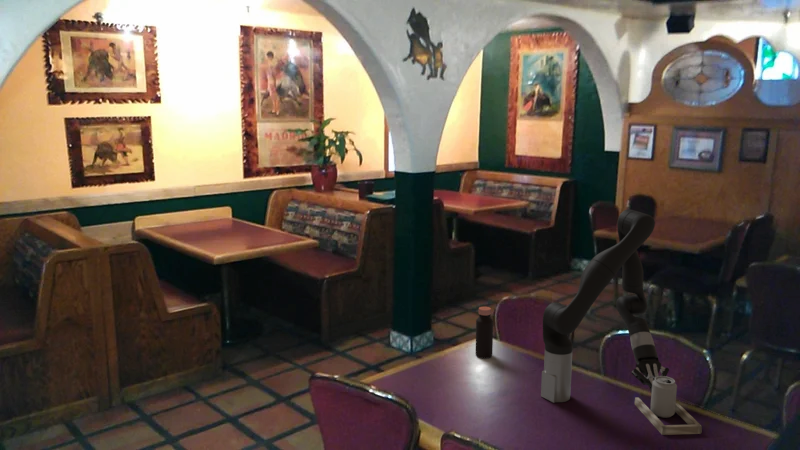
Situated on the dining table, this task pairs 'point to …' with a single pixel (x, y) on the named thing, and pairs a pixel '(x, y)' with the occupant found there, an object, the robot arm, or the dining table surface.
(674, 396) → the can
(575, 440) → the dining table surface
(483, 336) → the bottle
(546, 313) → the robot arm
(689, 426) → the wooden frame
